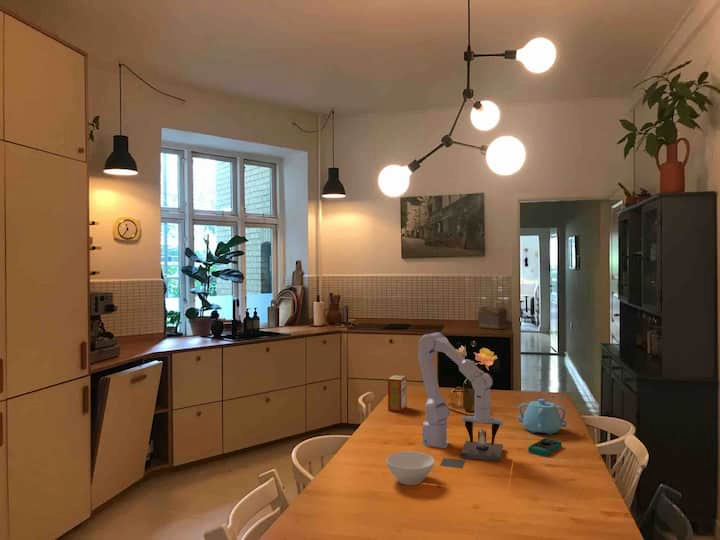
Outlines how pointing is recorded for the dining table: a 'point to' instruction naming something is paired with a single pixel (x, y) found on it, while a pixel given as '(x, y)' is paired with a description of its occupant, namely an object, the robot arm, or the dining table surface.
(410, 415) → the dining table surface
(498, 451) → the chuck block
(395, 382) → the baking soda box
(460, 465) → the key mat
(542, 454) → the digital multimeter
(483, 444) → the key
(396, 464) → the bowl
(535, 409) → the decorative pot
